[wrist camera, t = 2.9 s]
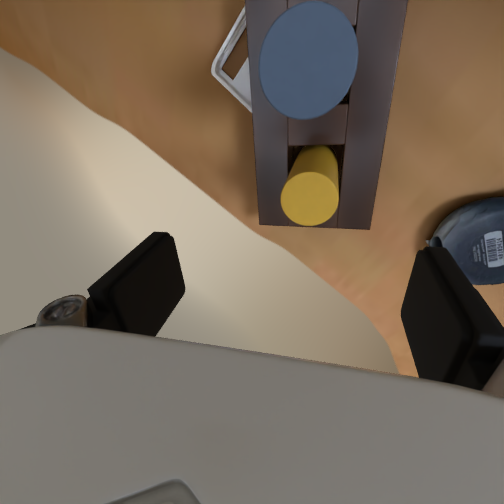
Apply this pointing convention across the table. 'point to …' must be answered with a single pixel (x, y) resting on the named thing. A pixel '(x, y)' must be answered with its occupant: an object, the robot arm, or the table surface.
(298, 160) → the mustard peg
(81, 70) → the table surface
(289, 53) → the blue peg
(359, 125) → the stand
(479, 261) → the electronic device
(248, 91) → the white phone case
